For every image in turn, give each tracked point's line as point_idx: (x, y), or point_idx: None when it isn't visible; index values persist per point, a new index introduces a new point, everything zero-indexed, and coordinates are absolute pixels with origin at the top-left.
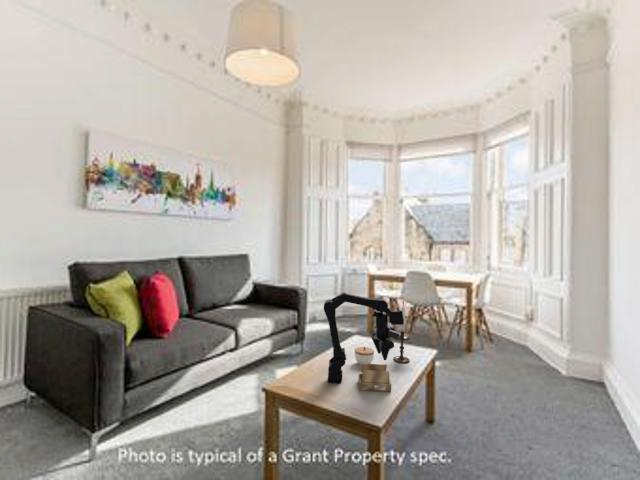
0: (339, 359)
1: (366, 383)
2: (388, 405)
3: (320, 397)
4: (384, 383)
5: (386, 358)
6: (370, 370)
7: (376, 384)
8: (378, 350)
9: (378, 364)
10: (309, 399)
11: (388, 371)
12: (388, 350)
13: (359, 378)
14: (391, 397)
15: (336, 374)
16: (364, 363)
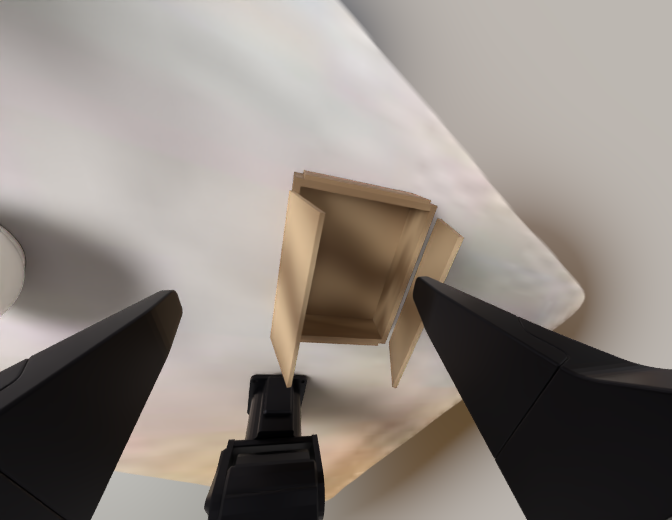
0: (321, 513)
1: (393, 320)
2: (512, 244)
3: (396, 418)
4: (325, 202)
5: (442, 285)
6: (412, 351)
7: (408, 278)
8: (162, 344)
9: (310, 284)
10: (401, 436)
11: (461, 242)
12: (613, 370)
13: (337, 342)
14: (462, 211)
15: (300, 421)
16: (21, 266)
